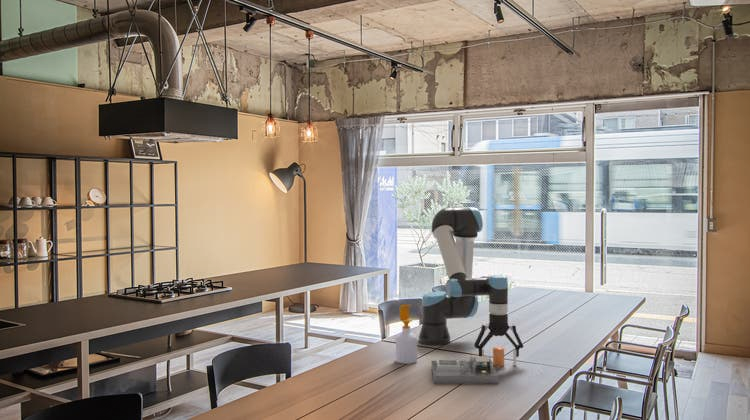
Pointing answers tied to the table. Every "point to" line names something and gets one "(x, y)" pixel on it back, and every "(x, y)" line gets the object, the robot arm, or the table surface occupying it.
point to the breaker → (481, 359)
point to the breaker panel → (463, 372)
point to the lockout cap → (498, 356)
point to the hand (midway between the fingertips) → (498, 364)
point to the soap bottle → (406, 340)
